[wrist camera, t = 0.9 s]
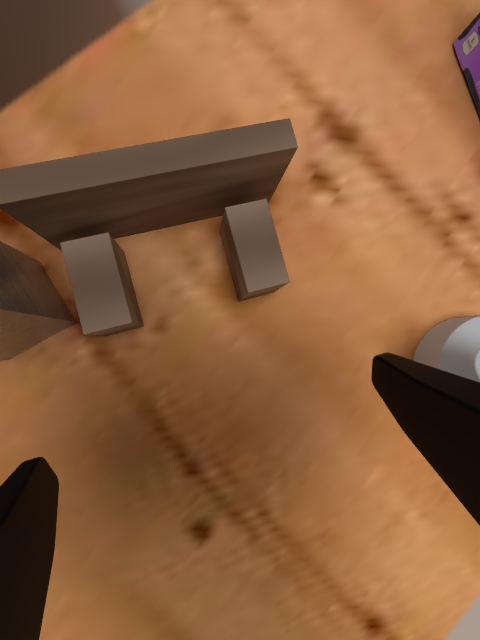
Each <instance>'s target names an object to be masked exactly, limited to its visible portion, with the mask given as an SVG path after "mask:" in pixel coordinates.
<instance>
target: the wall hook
mask: <svg viewBox="0 0 480 640" xmlns="http://www.w3.org/2000/svg"><path fill="white" fill-rule="evenodd" d="M413 361H416V362H419V363H422V364H425V365H428V366H431V367H434V368H437V369H440V370H444V371H447V372H450V373H453V374H456V375H459V376H462V377H465V378H468V379H471V380H474V381H477V382H480V316H470V317H459V318H452V319H448V320H445V321H443V322H441V323H439V324H437V325H436V326H434V327H433V328H432V329H430V330H429V331H428V332H427V333H426V334H425V336H424V337H423V338H422V340H421V341H420V343H419V345H418V347H417V349H416V351H415V354H414V357H413Z"/></svg>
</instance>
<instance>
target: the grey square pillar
mask: <svg viewBox="0 0 480 640" xmlns="http://www.w3.org/2000/svg"><path fill="white" fill-rule="evenodd" d="M75 322H76V321H75V319H74V317H73V316H72V314H71V313H70V311H69V309H68V308H67V306H66V304H65V303H64V301H63V299H62V298H61V296H60V295H59V293H58V291H57V290H56V288H55V286H54V285H53V283H52V281H51V280H50V278H49V277H48V275H47V273H46V272H45V270H44V268H43V267H42V265H41V263H40V262H39V261H38V260H36V259H34V258H32V257H30V256H28V255H26V254H24V253H22V252H20V251H18V250H16V249H14V248H13V247H11V246H9V245H7V244H5V243H3V242H1V241H0V360H9V359H11V358H13V357H14V356H16V355H18V354H20V353H22V352H23V351H25V350H27V349H29V348H31V347H32V346H34V345H36V344H38V343H40V342H41V341H43V340H45V339H47V338H48V337H50V336H52V335H54V334H56V333H57V332H59V331H61V330H63V329H65V328H66V327H68V326H70V325H72V324H74V323H75Z"/></svg>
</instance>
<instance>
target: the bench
mask: <svg viewBox="0 0 480 640" xmlns="http://www.w3.org/2000/svg"><path fill="white" fill-rule="evenodd" d="M297 148H298V145H297V142H296V138H295V135H294V131H293V128H292V124H291V121H290V118H288V119H283V120H277V121H271V122H266V123H260V124H254V125H249V126H243V127H237V128H232V129H226V130H221V131H215V132H209V133H204V134H198V135H192V136H187V137H181V138H175V139H170V140H164V141H159V142H153V143H147V144H142V145H136V146H130V147H125V148H119V149H113V150H108V151H102V152H97V153H91V154H85V155H80V156H74V157H68V158H63V159H57V160H51V161H46V162H40V163H35V164H29V165H23V166H18V167H12V168H6V169H1V170H0V208H1V209H2V210H3V211H5V212H6V213H8V214H9V215H11V216H12V217H14V218H15V219H17V220H18V221H20V222H21V223H22V224H24V225H25V226H27V227H28V228H30V229H31V230H33V231H34V232H36V233H37V234H38V235H40V236H41V237H43V238H44V239H46V240H47V241H49V242H50V243H52V244H53V245H54V246H56V247H57V248H59V249H60V250H62V252H63V256H64V260H65V264H66V268H67V272H68V275H69V279H70V283H71V287H72V291H73V295H74V299H75V303H76V306H77V310H78V314H79V318H80V322H81V326H82V330H83V333H84V335H95V336H107V335H111V334H115V333H119V332H123V331H126V330H130V329H134V328H138V327H142V326H144V325H143V322H142V318H141V314H140V310H139V307H138V303H137V299H136V295H135V291H134V288H133V284H132V280H131V276H130V272H129V269H128V265H127V261H126V257H125V254H124V252H123V250H122V249H121V248H120V247H119V245H118V244H117V243H116V242H115V240H114V239H115V238H119V237H124V236H128V235H133V234H138V233H142V232H147V231H151V230H156V229H161V228H165V227H170V226H174V225H179V224H184V223H188V222H193V221H197V220H202V219H207V218H211V217H216V216H221V215H223V219H222V223H221V228H220V234H221V238H222V241H223V245H224V249H225V252H226V256H227V260H228V263H229V267H230V271H231V274H232V278H233V282H234V285H235V289H236V293H237V296H238V300H239V301H242V300H246V299H250V298H254V297H257V296H261V295H265V294H269V293H273V292H275V291H276V290H278V289H279V288H281V287H283V286H284V285H286V284H287V283H289V282H290V281H289V277H288V274H287V270H286V267H285V263H284V259H283V256H282V252H281V249H280V245H279V241H278V238H277V234H276V231H275V227H274V223H273V220H272V216H271V213H270V209H269V205H268V203H269V201H270V199H271V197H272V195H273V193H274V191H275V190H276V188H277V186H278V184H279V182H280V180H281V178H282V176H283V174H284V173H285V171H286V169H287V167H288V165H289V163H290V161H291V159H292V157H293V155H294V154H295V152H296V150H297Z"/></svg>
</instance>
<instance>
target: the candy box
mask: <svg viewBox="0 0 480 640" xmlns="http://www.w3.org/2000/svg"><path fill="white" fill-rule="evenodd" d="M454 48H455V51H456V54H457V57H458V60H459V62H460V65H461V68H462V70H463V72H464V74H465V77H466V80H467V83H468V86H469V89H470V92H471V94H472V97H473V99H474V101H475V104H476V107H477V110H478V113H479V116H480V13H479V14H478V15H477V17H476V18H475V19H474V20H473V21H472V22H471V23H470V25H469V26H468V27H467V28H466V29H465V30H464V31H463V33H462V34H461V35H460V36H459V37H458V38H457V40H456V41H455V42H454Z"/></svg>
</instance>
